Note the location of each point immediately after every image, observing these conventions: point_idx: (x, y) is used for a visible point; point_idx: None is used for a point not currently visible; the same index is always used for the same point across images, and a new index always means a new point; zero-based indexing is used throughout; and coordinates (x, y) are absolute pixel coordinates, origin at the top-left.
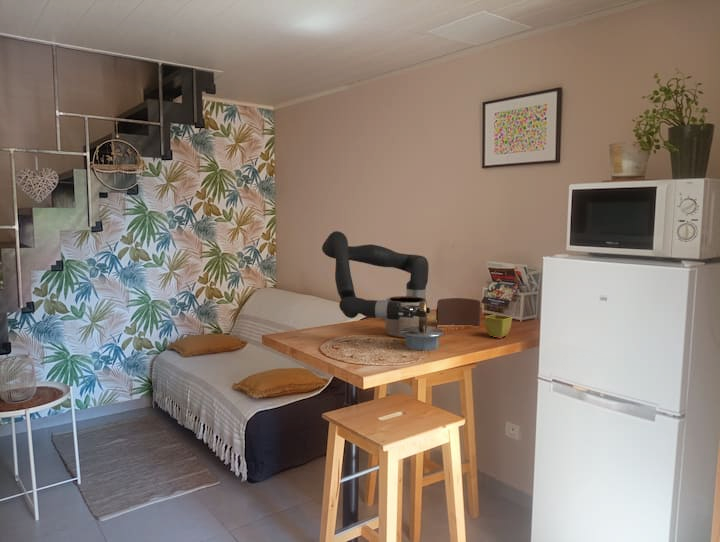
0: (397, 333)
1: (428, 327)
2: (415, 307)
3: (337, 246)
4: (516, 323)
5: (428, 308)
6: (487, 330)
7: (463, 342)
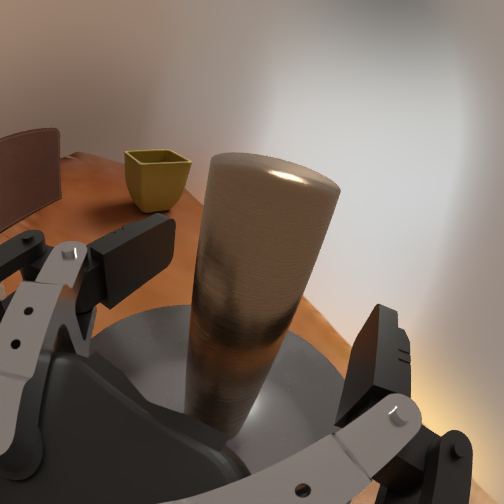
0: None
1: (113, 334)
2: (68, 299)
3: None
4: (78, 163)
5: (169, 224)
6: (144, 200)
7: (173, 277)
